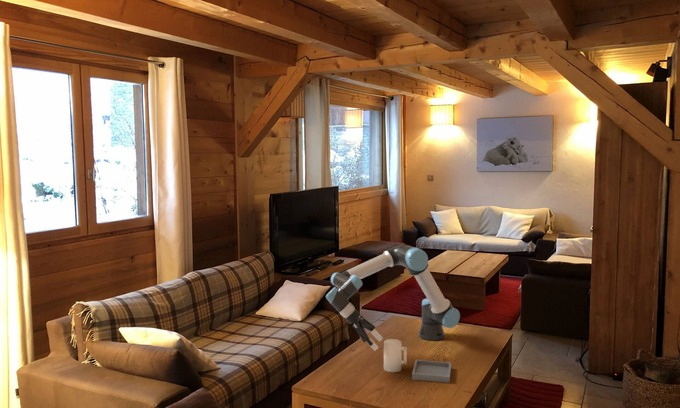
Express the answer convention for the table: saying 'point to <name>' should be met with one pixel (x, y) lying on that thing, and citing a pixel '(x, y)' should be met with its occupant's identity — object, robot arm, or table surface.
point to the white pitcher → (394, 355)
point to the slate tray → (431, 371)
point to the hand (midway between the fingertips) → (379, 344)
